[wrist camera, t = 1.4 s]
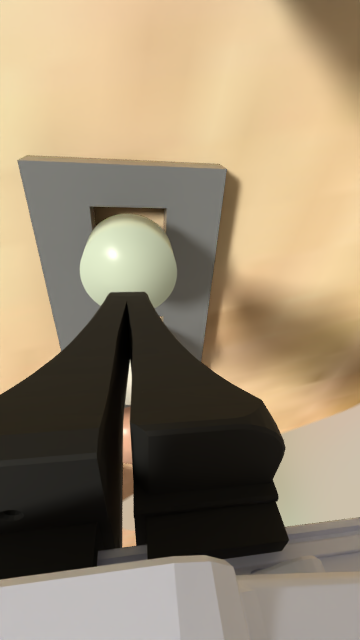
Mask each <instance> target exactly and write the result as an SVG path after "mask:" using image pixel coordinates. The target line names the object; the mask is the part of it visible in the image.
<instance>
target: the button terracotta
mask: <svg viewBox="0 0 360 640" xmlns="http://www.w3.org/2000/svg"><path fill="white" fill-rule="evenodd" d="M130 407H131V405H125V408H124V420H123V463H128V464H132V450H131V435H130Z"/></svg>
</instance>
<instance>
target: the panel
mask: <svg viewBox="0 0 360 640" xmlns="http://www.w3.org/2000/svg"><path fill="white" fill-rule="evenodd" d="M17 161H18V165H19V169H20V174H21V178H22V182H23V187H24V191H25V195H26V200H27V204H28V209H29V213H30V217H31V222H32V226H33V230H34V235H35V239H36V243H37V248H38V252H39V256H40V261H41V265H42V269H43V274H44V278H45V283H46V287H47V291H48V296H49V300H50V304H51V309H52V313H53V317H54V322H55V326H56V330H57V335H58V339H59V344H60V348H61V351H62V350H63V349H64V348H65V347H66V346H67V345H69V344H70V343H71V342H72V341H73V339H74V338H75V337H76V336H77V335H78V334H79V333H80V332H81V331H82V329H83V328H84V327H85V326H86V325H87V324H88V323H89V321H90V320H91V319H92V317H93V316H94V315H95V313H96V312H97V311H98V309H99V308H100V305H99V304H97V303H96V302H95V301H94V300H93V299H92V298H91V297H90V296H89V295H88V293H87V292H86V290H85V288H84V286H83V284H82V281H81V277H80V262H81V258H82V255H83V252H84V249H85V246H86V243H87V240H88V238H89V235H90V234H91V232H92V231H93V229H94V228H95V227H96V224H95V214H94V207H134V208H164V232H165V233H166V235H167V237H168V239H169V241H170V243H171V247H172V250H173V254H174V258H175V261H176V266H177V279H176V283H175V286H174V289H173V291H172V292H171V294H170V296H169V297H168V298H167V299H166V300H165V301H164V302H163V303H162V304H161V305H159V306H158V307H156V308H154V309H155V310H156V312H157V314H158V315H159V316H161V319H162V321H163V322H164V324H165V325H166V326H167V328H168V329H169V330H170V332H171V333H172V334H173V335H174V336H175V338H176V339H177V340H178V341H179V342H180V343H181V344H182V345H183V346H184V347H185V348H186V349H187V350H188V351H189V352H190V353H191V354H192V355H193V356H194V357H195V358H197V359H198V360H199V361H200V362H201V359H202V351H203V344H204V336H205V329H206V321H207V314H208V306H209V299H210V292H211V284H212V277H213V269H214V262H215V254H216V247H217V239H218V232H219V224H220V217H221V209H222V202H223V194H224V187H225V180H226V172H227V169H226V168H224V167H223V166H222V165H220V164H206V163H184V162H162V161H140V160H118V159H96V158H74V157H52V156H30V155H27V156H25V157H23V158H21V159H19V160H17Z"/></svg>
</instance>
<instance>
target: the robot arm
mask: <svg viewBox="0 0 360 640" xmlns="http://www.w3.org/2000/svg"><path fill="white" fill-rule="evenodd" d="M130 363H131V372H132V386H131V407H130V435H131V450H132V465H133V480H134V519H135V533H136V546H132V547H124V548H122V485H123V420H124V408H125V399H126V391H127V382H128V373H129V365H130ZM284 452H285V445H284V440H283V438H282V436H281V434H280V431H279V429H278V427H277V425H276V423H275V421H274V420H273V418H272V416H271V414H270V413H269V411H268V409H267V408H266V406H265V405H264V403H263V401H262V400H261V399H259V398H257V397H255V396H253V395H251V394H250V393H248V392H246V391H244V390H242V389H240V388H239V387H237V386H235V385H233V384H231V383H230V382H228V381H227V380H225V379H224V378H222V377H221V376H219V375H218V374H216V373H215V372H213V371H212V370H211V369H209V368H208V367H207V366H205V365H204V364H203V363H202V362H200V361H199V360H198V359H197V358H195V357H194V356H193V355H192V354H191V353H190V352H189V351H188V350H187V349H186V348H185V347H184V346H183V345H182V344H181V343H180V342H179V341H178V340H177V339H176V338H175V336H174V335H173V334H172V333H171V332H170V330H169V329H168V328H167V326H166V325H165V324H164V322H163V321H162V319H161V318H160V317H159V315H158V314H157V312H156V310H155V309H154V307H153V305H152V303H151V301H150V299H149V297H148V294H147V293H146V292H110V293H109V294H108V295H107V297H106V299H105V300H104V302H103V303H102V305H101V306H100V308H99V309H98V311H97V312H96V313H95V315H94V316H93V317H92V319H91V320H90V321H89V323H88V324H87V325H86V326H85V327H84V328H83V329H82V331H81V332H80V333H79V334H78V335H77V336H76V337H75V338H74V339H73V341H72V342H71V343H70V344H69V345H67V346H66V347H65V348H64V349H63V350H62V351H61V352H60V353H59V354H58V355H57V356H55V357H54V358H53V359H52V360H51V361H49V362H48V363H47V364H45V365H44V366H43V367H41V368H40V369H39V370H37V371H36V372H35V373H33V374H32V375H31V376H29V377H28V378H26V379H25V380H23V381H22V382H20V383H19V384H17V385H15V386H14V387H12V388H11V389H9V390H7V391H6V392H4V393H2V394H1V395H0V640H360V517H359V518H352V519H343V520H335V521H327V522H319V523H312V524H305V525H296V526H288V527H284V524H283V521H282V518H281V515H280V513H279V510H278V507H277V504H276V501H278V493H277V490H276V487H275V485H274V482H273V478H274V475H275V473H276V471H277V469H278V467H279V464H280V463H281V461H282V458H283V456H284Z"/></svg>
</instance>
